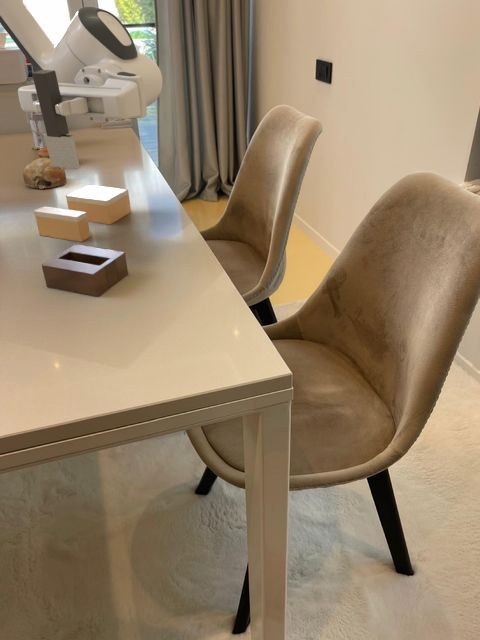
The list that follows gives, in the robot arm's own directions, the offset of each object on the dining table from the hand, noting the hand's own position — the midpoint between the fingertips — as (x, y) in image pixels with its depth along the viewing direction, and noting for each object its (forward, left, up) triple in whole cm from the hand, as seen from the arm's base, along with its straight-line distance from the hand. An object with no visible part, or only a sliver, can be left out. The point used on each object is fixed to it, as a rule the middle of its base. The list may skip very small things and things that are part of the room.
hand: (48, 109), depth 84 cm
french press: (-23, +89, -26) cm, 96 cm away
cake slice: (-5, +15, -26) cm, 31 cm away
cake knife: (+1, +1, -9) cm, 9 cm away
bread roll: (-16, +51, -26) cm, 60 cm away
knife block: (+2, -6, -26) cm, 27 cm away
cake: (+1, +26, -26) cm, 37 cm away
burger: (-16, +69, -26) cm, 76 cm away
